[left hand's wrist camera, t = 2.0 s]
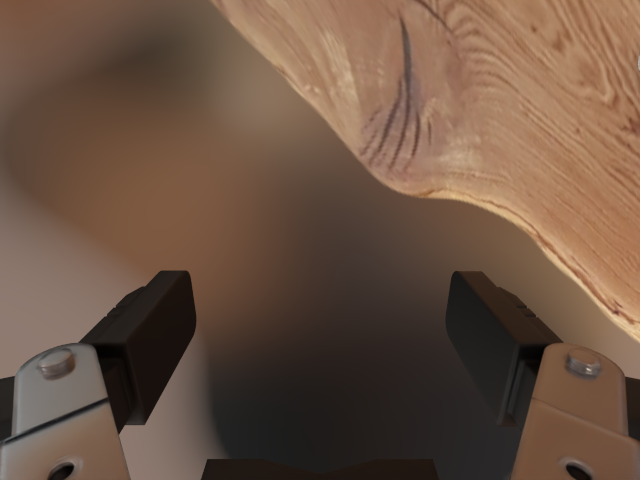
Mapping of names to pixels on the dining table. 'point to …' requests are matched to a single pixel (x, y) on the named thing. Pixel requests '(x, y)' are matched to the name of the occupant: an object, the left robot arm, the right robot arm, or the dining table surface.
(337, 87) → the dining table surface
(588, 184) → the dining table surface
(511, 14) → the dining table surface
